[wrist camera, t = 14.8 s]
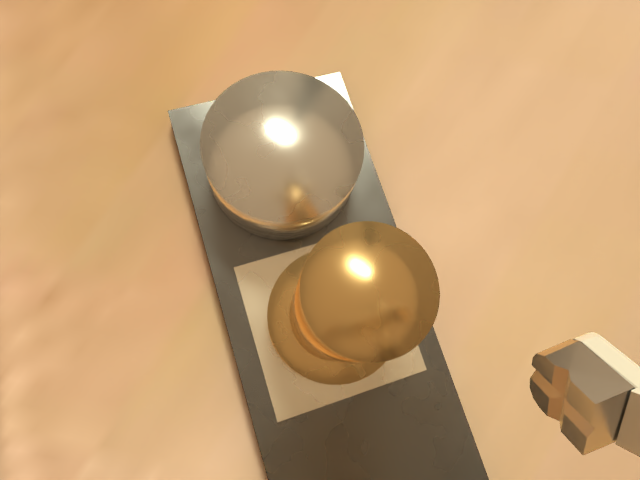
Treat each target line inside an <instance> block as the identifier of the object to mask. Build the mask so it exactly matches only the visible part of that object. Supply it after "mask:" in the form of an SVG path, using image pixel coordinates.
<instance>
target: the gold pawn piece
mask: <svg viewBox="0 0 640 480" xmlns="http://www.w3.org/2000/svg"><path fill="white" fill-rule="evenodd" d="M439 299H440V291H439V282H438V277H437V274H436V271H435V268H434V266H433V263H432V261H431V259H430V258H429V256H428V254H427V253H426V252H425V250H424V249H423V248H422V246H421V245H420V244H419V243H418V242H417V241H416V240H415V239H413V238H412V237H411V236H410V235H408V234H407V233H405V232H404V231H402V230H400V229H398V228H396V227H394V226H391V225H388V224H385V223H380V222H375V221H360V222H353V223H349V224H346V225H343V226H340V227H338V228H336V229H334V230H332V231H331V232H329V233H328V234H326V235H325V236H324V237H323V238H322V239H321V240H320V241H318V243H317V244H316V245H315V246H314V247H313V249H312V250H311V252H309V253H307V254H305V255H303V256H301V257H299V258H298V259H296V260H295V261H293V262H292V263H291V264H290V265H289V266H288V267H287V268H286V269H285V270H284V271H283V272H282V273H281V274H280V276H279V278H278V279H277V281H276V282H275V284H274V287H273V289H272V291H271V294H270V297H269V302H268V309H267V321H268V330H269V335H270V339H271V341H272V344H273V346H274V348H275V350H276V352H277V354H278V355H279V356H280V358H281V359H282V360H283V361H284V363H285V364H286V365H287V366H288V367H290V368H291V369H292V370H293V371H295V372H296V373H298V374H299V375H301V376H303V377H305V378H307V379H310V380H312V381H315V382H318V383H322V384H329V385H342V384H349V383H353V382H357V381H359V380H362V379H364V378H366V377H368V376H369V375H371V374H373V373H374V372H375V371H377V370H378V369H379V368H380V367H381V366H382V365H383V364H384V363H385V362H386V361H389V360H393V359H396V358H398V357H401V356H403V355H405V354H406V353H408V352H410V351H411V350H413V349H414V348H415V347H416V346H418V345H419V344H420V343H421V341H422V340H423V339H424V338H425V337H426V335H427V334H428V333H429V331H430V329H431V327H432V326H433V324H434V321H435V318H436V316H437V312H438V307H439Z"/></svg>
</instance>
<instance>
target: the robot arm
mask: <svg viewBox="0 0 640 480" xmlns="http://www.w3.org/2000/svg"><path fill="white" fill-rule="evenodd" d="M532 366H533V367H534V368H535V369H536V371H535V372H534V374H533V375H532V376H531V378H530V389H531V392H532V395H533V398H534V400H535V401H536V403H537V404H538V406H539V407H540V408H541V410H542V411H543V412H544V413H545V414H546V415H547V416H549V417H551V418H554V419H556V420H558V421H560V428H561V432H562V433H563V434H564V435H565V436H566V437H567V438H568V440H569V441H570V442H571V443H572V444H573V445H574V446H575V447H576V448H577V449H578V451H579V452H580V453H581V454H582V455H585V454H588V453H590V452H592V451H595V450H597V449H600V448H602V447H604V446H607V445H609V444H611V443H614V442H616V443H615V444H616V445H618V446H620V447H622V448H624V449H626V450H628V451H629V452H631V453H633V454H635V455H637V456H639V457H640V367H639V366H638V365H637V364H636V363H634V362H633V361H632V360H631V359H629V358H628V357H627V356H626V355H624V354H623V353H622V352H620V351H619V350H618V349H617V348H615V347H614V346H613V345H612V344H610V343H609V342H608V341H607V340H605V339H604V338H603V337H602V336H600V335H599V334H597V333H594V332H589V333H585V334H583V335H581V336H578V337H576V338H574V339H570V340H567V341H565V342H563V343H560V344H558V345H556V346H553V347H551V348H549V349H546V350H544V351H542V352H539V353H537V354H536V355H535V356H534V357H533V361H532Z"/></svg>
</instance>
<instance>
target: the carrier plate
mask: <svg viewBox="0 0 640 480" xmlns="http://www.w3.org/2000/svg"><path fill="white" fill-rule="evenodd" d="M168 113H169V117H170V120H171V124H172V128H173V131H174V135H175V139H176V143H177V146H178V150H179V154H180V157H181V161H182V165H183V168H184V172H185V176H186V179H187V183H188V187H189V190H190V194H191V198H192V201H193V205H194V209H195V212H196V216H197V220H198V223H199V227H200V231H201V234H202V238H203V242H204V245H205V249H206V253H207V256H208V260H209V264H210V267H211V271H212V275H213V278H214V282H215V286H216V290H217V293H218V297H219V301H220V304H221V308H222V312H223V315H224V319H225V323H226V326H227V330H228V334H229V337H230V341H231V345H232V348H233V352H234V356H235V359H236V363H237V367H238V370H239V374H240V378H241V381H242V385H243V389H244V392H245V396H246V400H247V403H248V407H249V411H250V414H251V418H252V422H253V426H254V429H255V433H256V437H257V440H258V444H259V448H260V451H261V455H262V459H263V462H264V466H265V470H266V473H267V477H268V480H489V479H488V476H487V473H486V471H485V468H484V465H483V462H482V460H481V457H480V454H479V451H478V449H477V446H476V443H475V440H474V438H473V435H472V432H471V430H470V427H469V424H468V421H467V419H466V416H465V413H464V410H463V408H462V405H461V402H460V399H459V397H458V394H457V391H456V388H455V386H454V383H453V380H452V378H451V375H450V372H449V369H448V367H447V364H446V361H445V358H444V356H443V353H442V350H441V347H440V345H439V342H438V339H437V337H436V334H435V331H434V328H433V326H432V327H431V329H430V331H429V333H428V334H427V335H426V337H425V338H424V339H423V340H422V341H421V343H420V344H419V345H418V346H416V347H415V348H414V349H413V350H411V351H410V352H408V353H406V354H405V355H403V356H401V357H398V358H396V359H393V360H389V361H386V362H385V363H384V364H383V365H382V366H381V367H380V368H379V369H378V370H377V371H375V372H374V373H373V374H371V375H369V376H368V377H366V378H364V379H362V380H359V381H357V382H353V383H349V384H342V385H329V384H322V383H318V382H315V381H312V380H310V379H307V378H305V377H303V376H301V375H299V374H298V373H296V372H295V371H293V370H292V369H291V368H290V367H288V366H287V365H286V364H285V363H284V361H283V360H282V359H281V358H280V356H279V355H278V354H277V352H276V350H275V348H274V346H273V344H272V341H271V339H270V335H269V330H268V321H267V309H268V302H269V297H270V294H271V291H272V289H273V287H274V284H275V282H276V281H277V279H278V278H279V276H280V274H281V273H282V272H283V271H284V270H285V269H286V268H287V267H288V266H289V265H290V264H291V263H292V262H293V261H295V260H296V259H298V258H299V257H301V256H303V255H305V254H307V253H309V252H311V250H312V249H313V247H314V246H315V245H316V244H317V243H318V241H320V240H321V239H322V238H323V237H324V236H325V235H326V234H328V233H329V232H331V231H332V230H334V229H336V228H338V227H340V226H343V225H346V224H349V223H353V222H360V221H375V222H380V223H385V224H388V225H391V226H394V227H396V224H395V222H394V219H393V216H392V213H391V211H390V208H389V205H388V202H387V200H386V197H385V194H384V192H383V189H382V186H381V183H380V181H379V178H378V175H377V172H376V170H375V167H374V164H373V161H372V159H371V156H370V153H369V151H368V148H367V145H366V142H365V140H364V137H363V132H362V129H361V125H360V123H359V120H358V118H357V116H356V114H355V112H354V109H353V107H352V104H351V101H350V99H349V96H348V93H347V90H346V88H345V85H344V82H343V79H342V77H341V74H340V72H337V73H333V74H329V75H324V76H320V77H315V78H314V77H312V76H308V75H305V74H302V73H297V72H292V71H269V72H262V73H258V74H255V75H251V76H249V77H246V78H244V79H241V80H240V81H238V82H236V83H234V84H233V85H231V86H230V87H229V88H227V89H226V90H225V91H224V92H223V93H222V94H221V95H220V96H219V97H218V98H217V99H216V100H214V101H209V102H205V103H200V104H196V105H191V106H187V107H183V108H178V109H174V110H169V111H168ZM396 228H397V227H396Z"/></svg>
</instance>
